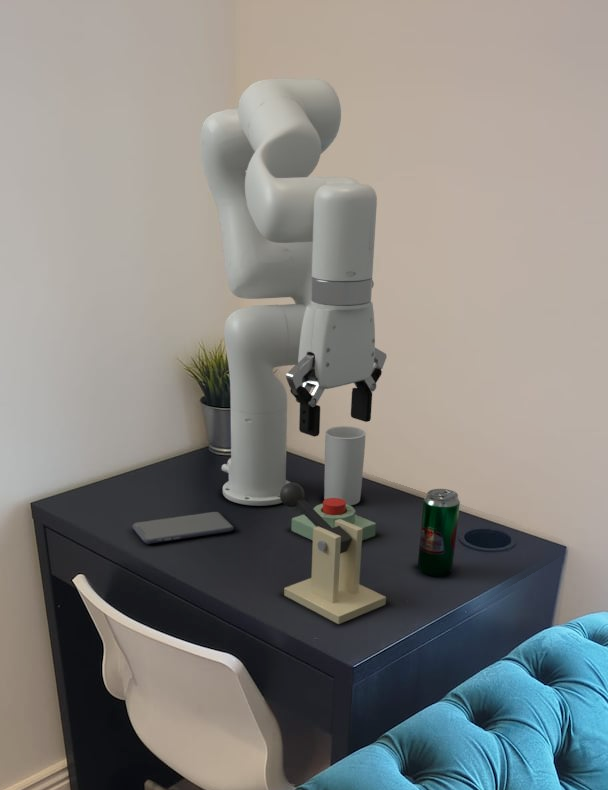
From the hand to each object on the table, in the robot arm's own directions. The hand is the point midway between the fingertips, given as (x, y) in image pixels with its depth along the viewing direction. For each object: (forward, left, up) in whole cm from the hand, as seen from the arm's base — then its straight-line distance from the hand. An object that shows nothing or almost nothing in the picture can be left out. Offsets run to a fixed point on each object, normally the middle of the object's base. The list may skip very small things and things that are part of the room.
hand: (335, 426), depth 130 cm
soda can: (+8, +14, -23) cm, 28 cm away
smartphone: (-28, -6, -23) cm, 36 cm away
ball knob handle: (0, -4, -13) cm, 14 cm away
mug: (-23, +24, -23) cm, 40 cm away
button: (-12, +12, -19) cm, 25 cm away
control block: (-12, +12, -23) cm, 28 cm away
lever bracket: (+5, -4, -23) cm, 24 cm away
